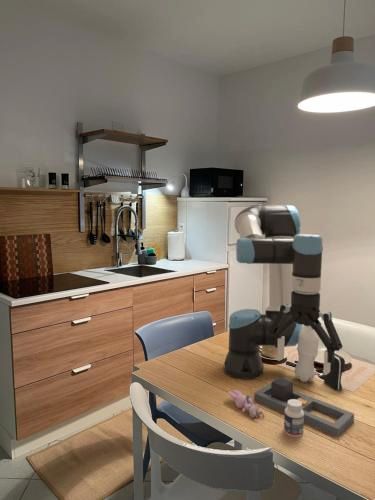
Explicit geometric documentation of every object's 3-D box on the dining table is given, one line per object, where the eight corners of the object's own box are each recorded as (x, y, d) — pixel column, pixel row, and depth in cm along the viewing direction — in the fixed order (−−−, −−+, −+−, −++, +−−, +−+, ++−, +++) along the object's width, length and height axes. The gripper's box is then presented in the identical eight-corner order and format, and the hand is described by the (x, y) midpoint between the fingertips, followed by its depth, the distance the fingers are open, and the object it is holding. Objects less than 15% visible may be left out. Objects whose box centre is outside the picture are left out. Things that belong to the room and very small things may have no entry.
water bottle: (314, 375, 142) (322, 312, 136) (314, 385, 136) (322, 320, 130) (294, 371, 145) (301, 309, 139) (293, 381, 138) (300, 317, 132)
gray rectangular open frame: (253, 400, 125) (254, 379, 124) (272, 388, 133) (273, 369, 132) (337, 437, 106) (338, 413, 105) (353, 421, 113) (355, 399, 112)
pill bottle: (281, 427, 110) (282, 398, 109) (298, 426, 111) (300, 397, 110) (287, 438, 105) (288, 407, 104) (306, 437, 106) (307, 407, 105)
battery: (345, 389, 133) (347, 357, 131) (336, 391, 131) (338, 359, 130) (331, 380, 139) (333, 350, 138) (323, 382, 138) (324, 352, 136)
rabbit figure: (267, 421, 116) (236, 392, 128) (270, 404, 114) (238, 377, 127) (251, 427, 113) (221, 397, 125) (254, 410, 111) (223, 382, 123)
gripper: (258, 286, 109) (256, 357, 112) (347, 301, 93) (343, 384, 95) (271, 282, 115) (269, 350, 117) (358, 296, 98) (353, 374, 101)
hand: (302, 366), depth 106 cm, fingers open, 13 cm apart
